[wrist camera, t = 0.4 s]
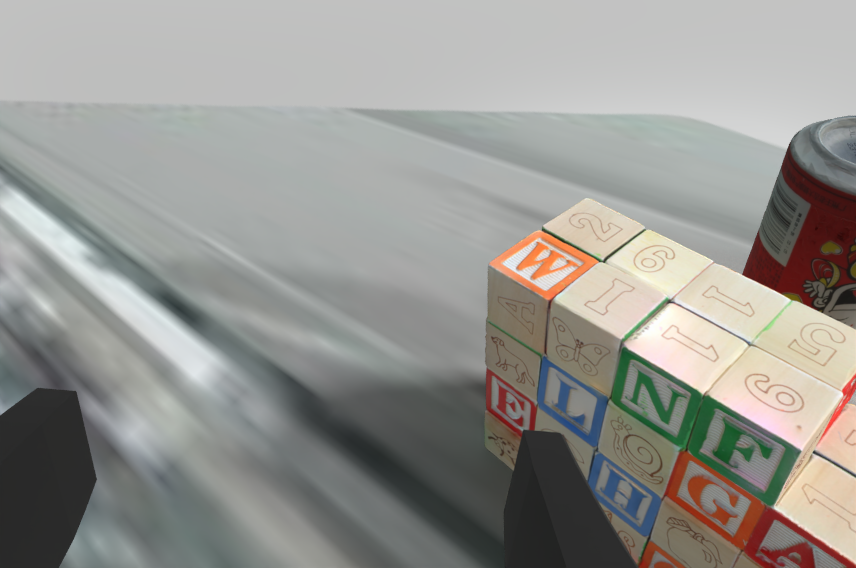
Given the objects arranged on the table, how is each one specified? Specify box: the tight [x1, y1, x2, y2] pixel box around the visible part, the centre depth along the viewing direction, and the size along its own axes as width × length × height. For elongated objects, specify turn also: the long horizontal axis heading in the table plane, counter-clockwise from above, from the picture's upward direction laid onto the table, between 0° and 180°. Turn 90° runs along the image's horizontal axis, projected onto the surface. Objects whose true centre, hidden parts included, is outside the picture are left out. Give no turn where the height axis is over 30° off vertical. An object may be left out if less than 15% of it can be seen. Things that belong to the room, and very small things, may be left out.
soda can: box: [742, 116, 856, 330], centre depth 36 cm, size 7×7×12 cm
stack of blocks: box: [484, 198, 856, 568], centre depth 27 cm, size 21×6×12 cm, turn 43°
